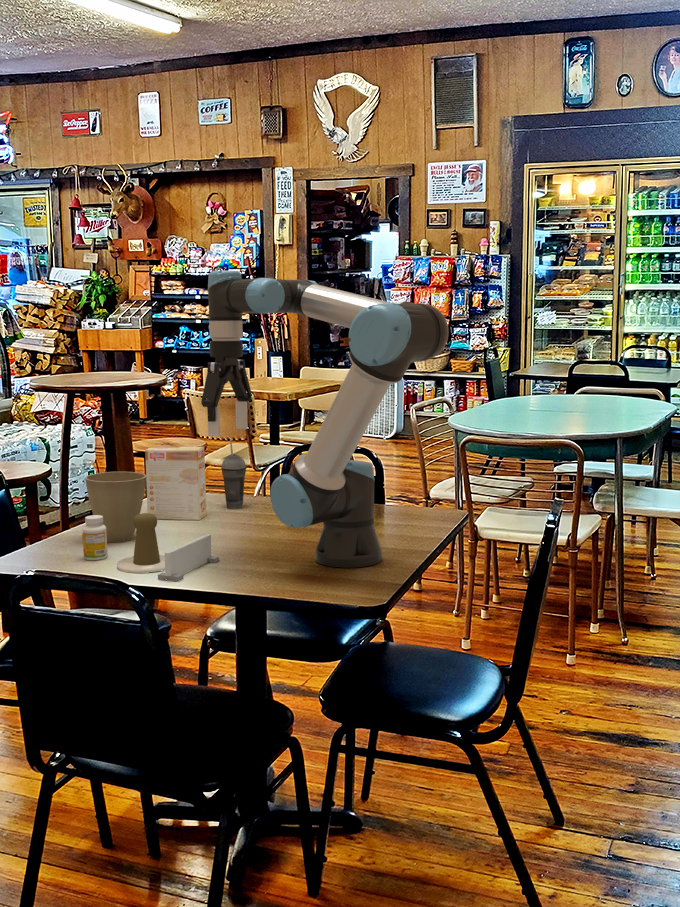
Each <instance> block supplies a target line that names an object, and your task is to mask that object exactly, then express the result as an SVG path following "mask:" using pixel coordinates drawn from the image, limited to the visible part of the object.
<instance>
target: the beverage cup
mask: <svg viewBox="0 0 680 907" xmlns="http://www.w3.org/2000/svg"><path fill="white" fill-rule="evenodd" d="M232 441H233V439H232V438H229V445H230V454H229V455H227V456H226V457H224V459H223V461H222V463H221V469H220V470H221V474H222V477H223V478H222V479H223V486H224V496H225V502H226V509H228V510H240V508H241V509H243V508H244V507H243V504H244V494H245V480H246V473H247V467H246V466H247V465H246V464H247V463H246V462H245V460H244V458H243V457H242V456H240V455H238V454H234V452H233V451H234V450H233V442H232ZM242 507H243V508H242Z"/></svg>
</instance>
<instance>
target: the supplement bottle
mask: <svg viewBox="0 0 680 907" xmlns="http://www.w3.org/2000/svg"><path fill="white" fill-rule="evenodd" d="M84 522H85V524H86V525H84V526H83V528H82V546H83V547H82V549H83V558H84V559H85V560H87V561H100V560H104V559H107V558H108V556H109V555H108V554H109V553H108V541H107V530H106V526H105V525H102V523H103V516H101V515H93V514H92V515H87V516H85V517H84Z"/></svg>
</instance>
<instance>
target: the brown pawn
mask: <svg viewBox="0 0 680 907" xmlns="http://www.w3.org/2000/svg"><path fill="white" fill-rule="evenodd" d="M134 526H135V528H136V529H135V541H134V551H133V556H134V559H133V563H134V564H136V565H154V564H158V563H160V556H159V555H160V550H159V545H158V539H157V532H156V527H157V526H158V519H157V518H156V516H155V515H154V514H151V513H148V512H144V513H143V512H142V513H140V514H138V515H136V516H135V518H134Z"/></svg>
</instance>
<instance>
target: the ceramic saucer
mask: <svg viewBox="0 0 680 907" xmlns="http://www.w3.org/2000/svg"><path fill="white" fill-rule="evenodd" d="M159 556H160V563H158V564H154V565H136V564H134V563H133V559H134V555H133V556H129V557H125V558H122V559H120V560H118V561H117V563H116V569H117V570H118V571H120V572H124V573H128V574H129V572H130V573H131V574H147V573H146V572H154V573H156V572H155V571H160V572H162V571H161V570H165V554H164V555H163V554H159Z"/></svg>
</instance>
